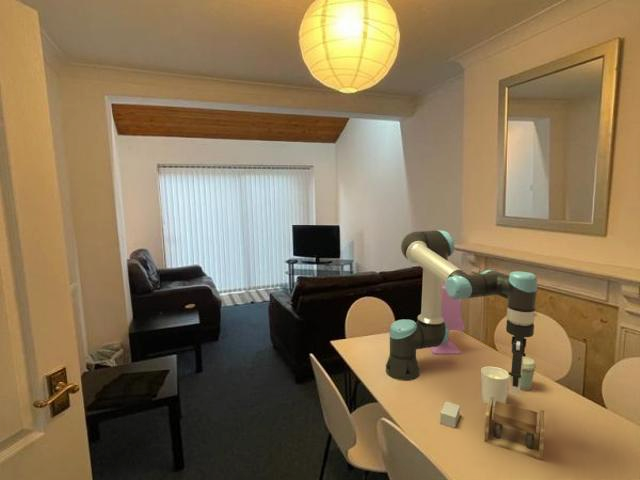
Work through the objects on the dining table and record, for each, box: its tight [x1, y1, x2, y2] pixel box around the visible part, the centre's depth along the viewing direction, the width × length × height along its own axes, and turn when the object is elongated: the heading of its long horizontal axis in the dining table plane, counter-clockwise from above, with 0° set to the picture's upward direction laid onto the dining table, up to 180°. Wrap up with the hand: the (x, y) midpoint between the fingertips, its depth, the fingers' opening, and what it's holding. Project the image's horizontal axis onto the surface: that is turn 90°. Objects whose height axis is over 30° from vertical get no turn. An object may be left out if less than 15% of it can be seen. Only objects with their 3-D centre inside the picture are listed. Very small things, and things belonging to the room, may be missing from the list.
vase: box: [429, 284, 465, 356], centre depth 179 cm, size 16×16×35 cm
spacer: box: [439, 401, 461, 429], centre depth 124 cm, size 8×5×4 cm, turn 148°
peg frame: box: [484, 396, 545, 462], centre depth 113 cm, size 16×12×10 cm
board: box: [492, 401, 538, 435], centre depth 113 cm, size 12×8×3 cm, turn 58°
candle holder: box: [480, 365, 510, 408], centre depth 134 cm, size 10×10×12 cm
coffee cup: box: [520, 356, 537, 392], centre depth 143 cm, size 8×8×12 cm
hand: (516, 384), depth 112 cm, fingers open, 13 cm apart
